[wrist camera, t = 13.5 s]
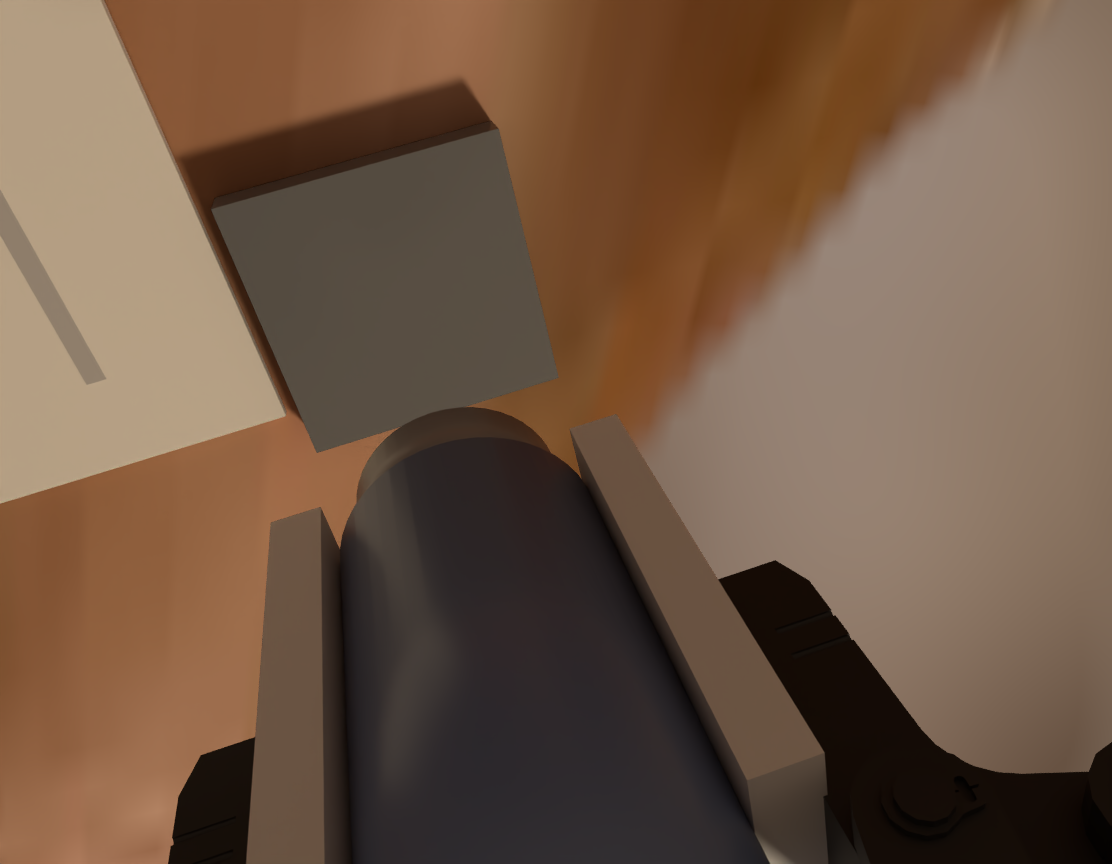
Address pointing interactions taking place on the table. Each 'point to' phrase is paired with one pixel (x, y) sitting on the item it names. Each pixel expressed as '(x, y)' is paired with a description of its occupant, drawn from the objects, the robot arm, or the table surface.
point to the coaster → (392, 283)
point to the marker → (511, 670)
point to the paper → (104, 267)
